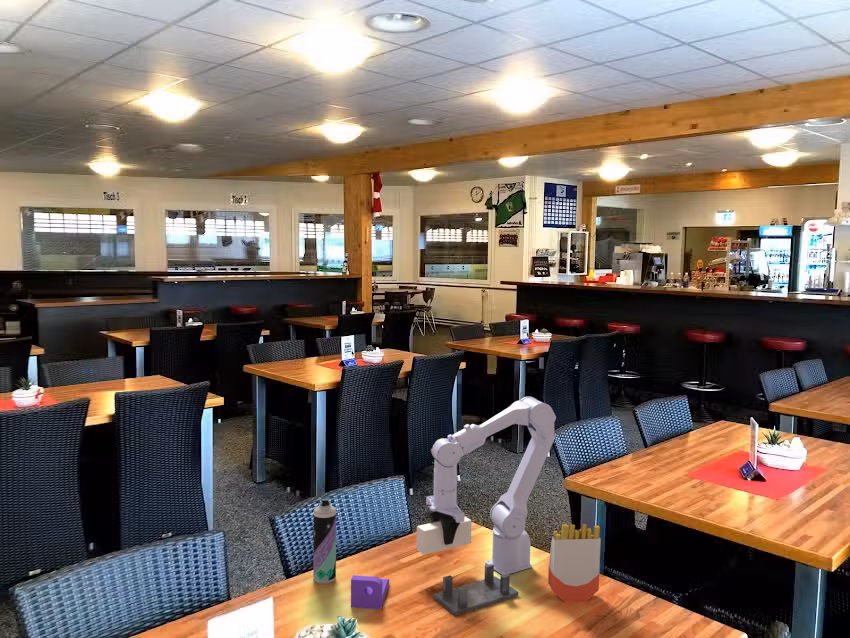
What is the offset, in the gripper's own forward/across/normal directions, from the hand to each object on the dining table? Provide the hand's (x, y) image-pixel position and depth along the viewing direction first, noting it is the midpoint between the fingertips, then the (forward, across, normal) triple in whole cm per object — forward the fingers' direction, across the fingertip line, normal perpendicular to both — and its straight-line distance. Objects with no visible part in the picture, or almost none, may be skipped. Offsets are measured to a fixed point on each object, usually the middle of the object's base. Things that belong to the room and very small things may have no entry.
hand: (444, 540), depth 167 cm
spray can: (+9, -12, -27) cm, 31 cm away
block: (+1, 0, 0) cm, 1 cm away
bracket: (+9, +1, -21) cm, 23 cm away
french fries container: (+9, +25, +20) cm, 33 cm away
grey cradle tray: (+8, +14, 0) cm, 16 cm away
